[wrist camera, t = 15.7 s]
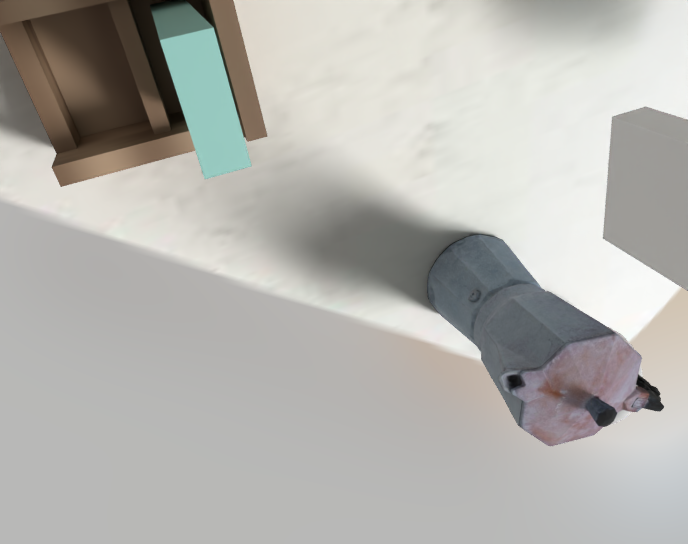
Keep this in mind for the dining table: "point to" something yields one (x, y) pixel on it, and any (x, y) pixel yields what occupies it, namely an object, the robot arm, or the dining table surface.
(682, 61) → the dining table surface
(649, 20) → the dining table surface
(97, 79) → the rack
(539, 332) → the moka pot
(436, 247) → the dining table surface
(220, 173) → the panel
